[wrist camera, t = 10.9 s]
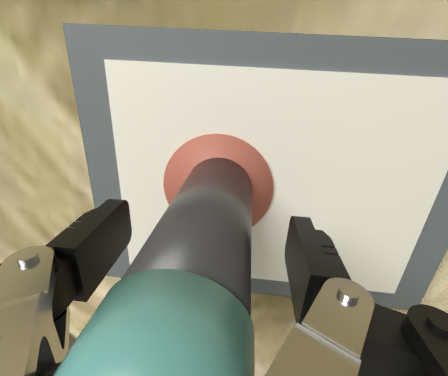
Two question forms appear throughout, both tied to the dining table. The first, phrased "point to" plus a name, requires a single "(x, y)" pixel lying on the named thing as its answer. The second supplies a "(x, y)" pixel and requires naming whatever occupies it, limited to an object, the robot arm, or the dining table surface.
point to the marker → (181, 290)
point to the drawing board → (277, 140)
